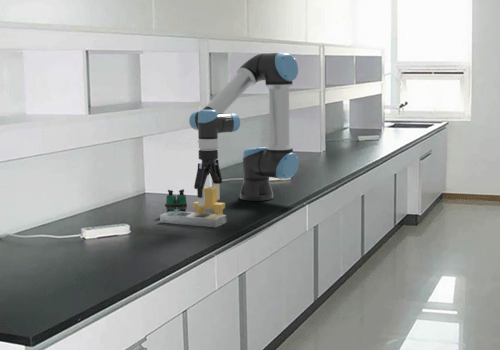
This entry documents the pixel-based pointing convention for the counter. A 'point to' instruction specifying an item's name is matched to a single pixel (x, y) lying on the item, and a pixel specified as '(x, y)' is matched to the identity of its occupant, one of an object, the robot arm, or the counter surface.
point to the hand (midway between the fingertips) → (208, 202)
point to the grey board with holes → (193, 218)
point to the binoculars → (176, 201)
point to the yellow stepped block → (210, 202)
